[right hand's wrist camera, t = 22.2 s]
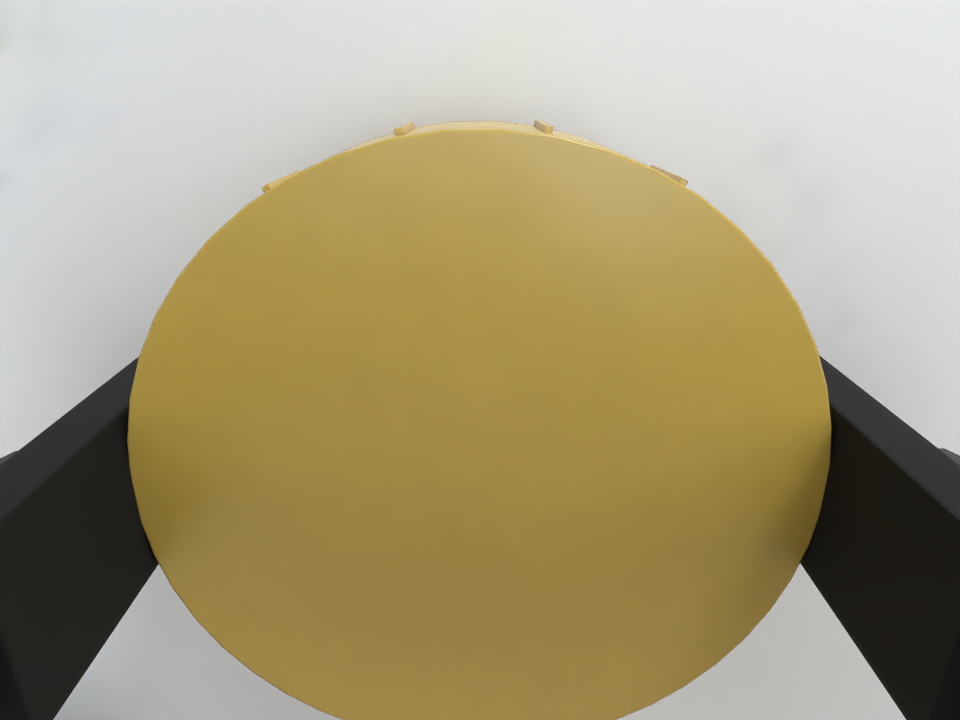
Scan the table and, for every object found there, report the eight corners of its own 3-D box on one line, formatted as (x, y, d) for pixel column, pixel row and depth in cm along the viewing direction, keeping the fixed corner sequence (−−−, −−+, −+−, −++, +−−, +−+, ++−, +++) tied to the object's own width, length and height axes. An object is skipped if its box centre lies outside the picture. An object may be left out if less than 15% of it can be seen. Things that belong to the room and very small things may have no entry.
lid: (375, 714, 15) (358, 817, 13) (58, 305, 11) (-39, 354, 9) (842, 529, 13) (913, 615, 11) (633, -19, 9) (677, -49, 7)
